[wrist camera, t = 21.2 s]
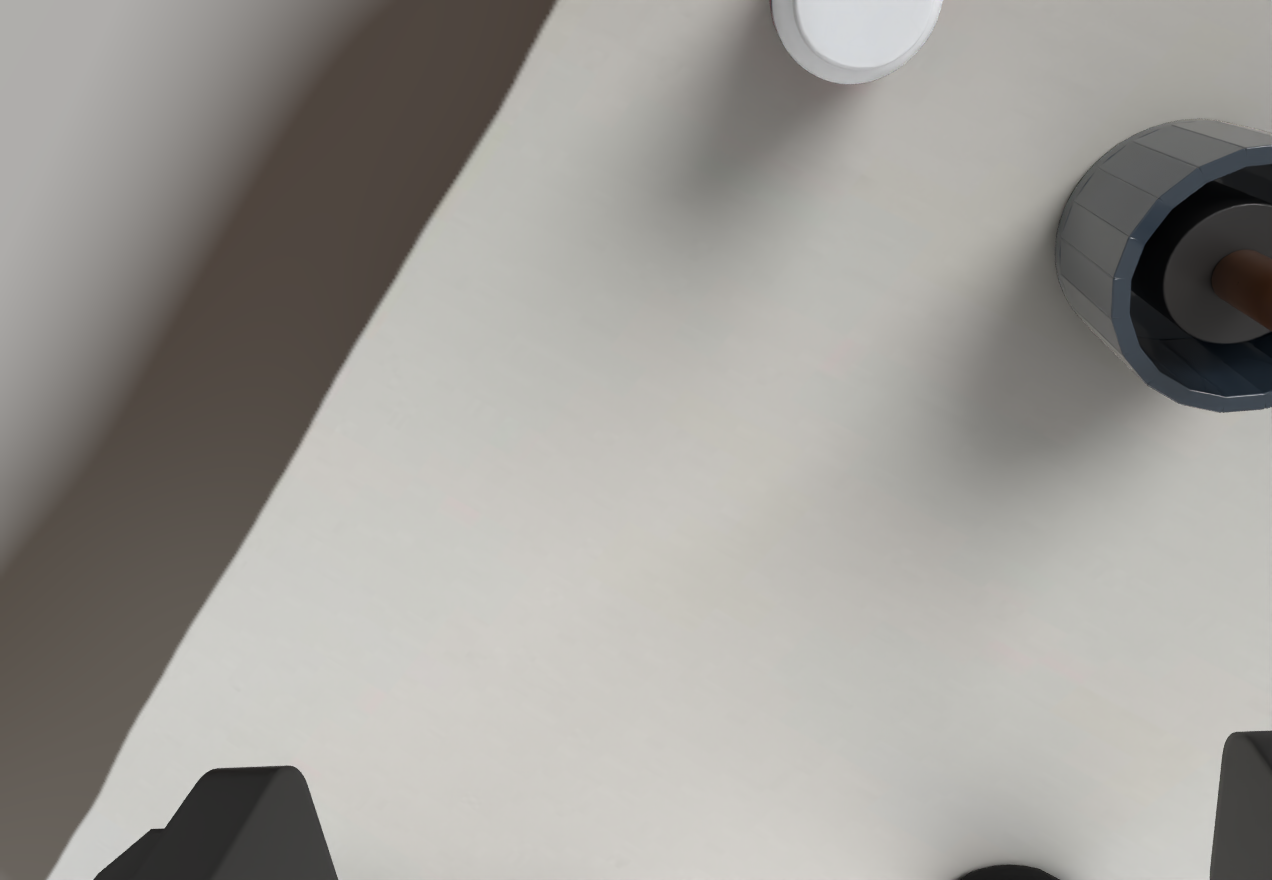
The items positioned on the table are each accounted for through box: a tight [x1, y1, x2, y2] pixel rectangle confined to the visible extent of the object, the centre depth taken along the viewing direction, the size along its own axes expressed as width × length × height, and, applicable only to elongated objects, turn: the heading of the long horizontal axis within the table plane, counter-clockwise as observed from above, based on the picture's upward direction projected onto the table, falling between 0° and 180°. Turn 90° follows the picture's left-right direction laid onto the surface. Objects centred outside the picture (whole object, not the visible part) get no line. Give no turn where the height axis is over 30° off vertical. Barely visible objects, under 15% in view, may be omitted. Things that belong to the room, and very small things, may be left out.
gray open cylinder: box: [1055, 119, 1272, 413], centre depth 36 cm, size 9×9×7 cm
